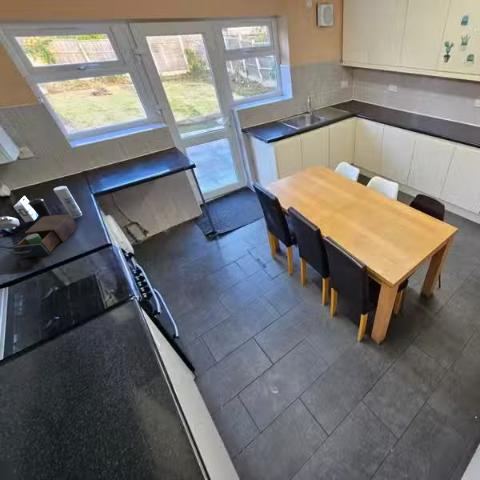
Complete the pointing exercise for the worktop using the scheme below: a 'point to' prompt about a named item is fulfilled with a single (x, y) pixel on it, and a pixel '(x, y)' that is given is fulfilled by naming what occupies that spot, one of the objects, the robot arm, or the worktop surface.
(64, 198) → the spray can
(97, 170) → the worktop surface
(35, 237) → the green can
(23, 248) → the drawer
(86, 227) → the worktop surface
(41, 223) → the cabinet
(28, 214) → the ink box
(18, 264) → the worktop surface
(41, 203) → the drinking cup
